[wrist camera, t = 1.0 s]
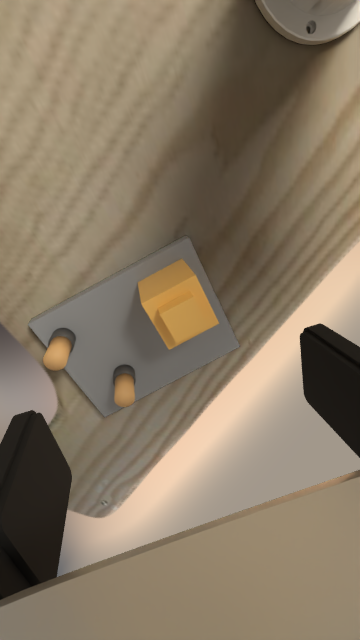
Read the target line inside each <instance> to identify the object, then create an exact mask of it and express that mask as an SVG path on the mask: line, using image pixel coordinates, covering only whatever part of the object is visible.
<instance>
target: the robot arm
mask: <svg viewBox="0 0 360 640" xmlns="http://www.w3.org/2000/svg"><path fill="white" fill-rule="evenodd" d="M255 2H256V4H257V6H258V8H259V9H260V11H261V13H262V14H263V16H264V18H265V19H266V20H267V22H268V23H269V24H270V25H271V26H272V27H273V28H274V29H275V30H276V31H277V32H278V33H280V34H281V35H283V36H284V37H285V38H287V39H289V40H292V41H294V42H297V43H299V44H308V45H316V44H323V43H327V42H329V41H332V40H334V39H337V38H339V37H340V36H342V35H343V34H345V33H346V32H348V31H350V30H351V29H352V28H354V27H355V26H356V25H357V24H358V23H359V22H360V0H255ZM306 29H307V30H306ZM307 31H308V33H307ZM300 345H301V346H300V347H301V360H302V375H303V389H304V395H305V398H306V400H307V402H308V403H309V404H310V405H311V406H312V407H313V408H314V409H315V411H317V413H318V414H319V415H320V416H321V417H322V418H323V419H324V420H325V421H326V422H327V423H328V424H329V425H330V427H331V428H333V430H334V431H335V432H336V433H337V434H338V435H339V436H340V437H341V438H342V439H343V440H344V441H345V443H346V444H347V445H348V446H349V447H350V448H351V449H352V450H353V451H354V452H355V453H356V454H357V455H358V456H359V458H360V347H359V346H357V345H355V344H354V343H352V342H351V341H349V340H347V339H346V338H344V337H342V336H341V335H339V334H338V333H336V332H334V331H333V330H331V329H329V328H328V327H326V326H324V325H323V324H317V325H314V326H310V327H307V328H305V329H304V331H303V333H301V334H300ZM71 480H72V475H71V470H70V467H69V466H68V464H67V462H66V460H65V458H64V456H63V454H62V452H61V450H60V448H59V446H58V444H57V442H56V440H55V438H54V437H53V435H52V433H51V431H50V429H49V427H48V425H47V423H46V421H45V419H44V417H43V415H42V414H41V413H36V412H35V411H33V410H31V411H28V412H25V413H21V414H18V415H15V416H14V417H13V418H12V420H11V423H10V425H9V427H8V429H7V431H6V433H5V435H4V438H3V440H2V442H1V444H0V640H360V470H358V471H355V472H352V473H349V474H346V475H343V476H340V477H337V478H335V479H332V480H329V481H326V482H323V483H320V484H317V485H314V486H311V487H308V488H306V489H303V490H300V491H297V492H294V493H291V494H288V495H285V496H282V497H280V498H277V499H274V500H271V501H268V502H265V503H263V504H260V505H257V506H254V507H251V508H248V509H245V510H242V511H240V512H237V513H234V514H232V515H228V516H225V517H223V518H220V519H217V520H214V521H211V522H209V523H206V524H203V525H200V526H197V527H194V528H192V529H189V530H186V531H183V532H180V533H177V534H175V535H172V536H169V537H166V538H163V539H161V540H158V541H155V542H152V543H150V544H147V545H144V546H141V547H138V548H136V549H133V550H130V551H127V552H124V553H122V554H119V555H116V556H113V557H111V558H108V559H105V560H102V561H99V562H97V563H94V564H91V565H88V566H86V567H83V568H80V569H78V570H75V571H72V572H70V573H67V574H64V575H62V576H59V577H57V570H58V564H59V558H60V551H61V545H62V538H63V532H64V526H65V519H66V512H67V506H68V500H69V493H70V487H71Z"/></svg>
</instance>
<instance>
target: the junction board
mask: <svg viewBox="0 0 360 640" xmlns="http://www.w3.org/2000/svg"><path fill="white" fill-rule="evenodd" d="M180 259H183V260H184V261H185V263H186V264H187V265H188V266H189V267H190V269H191V270H192V271H193V272H194V273H195V275H196V277H197V279H198V281H199V283H200V285H201V287H202V289H203V291H204V293H205V295H206V297H207V299H208V301H209V303H210V305H211V307H212V309H213V312H214V314H215V316H216V318H217V320H218V322H219V324H217V325H216V326H214V327H212V328H210V329H208V330H206V331H204V332H202V333H200V334H198V335H197V336H195V337H193V338H191V339H189V340H187V341H185V342H183V343H181V344H179V345H178V346H176V347H174V348H172V349H170V350H169V349H168V347H167V346H166V344H165V342H164V341H163V339H162V338H161V336H160V334H159V333H158V331H157V329H156V328H155V326H154V324H153V323H152V321H151V319H150V318H149V316H148V314H147V313H146V311H145V309H144V308H143V306H142V304H141V300H140V294H139V288H138V282H139V281H141V280H143V279H145V278H146V277H148V276H150V275H152V274H154V273H156V272H158V271H159V270H161V269H163V268H165V267H167V266H169V265H171V264H172V263H174V262H176V261H178V260H180ZM28 325H29V327H30V328H31V329H32V330H33V331H34V333H35V334H36V335H37V336H38V337H39V339H40V340H41V341H42V342H43V344H44V345H45V346H46V347H47V348H48V349H47V351H46V354H45V356H44V358H43V362H44V365H45V366H46V367H47V368H48V369H50V370H61V369H63V368H64V369H65V370H66V371H67V373H68V374H69V375H70V376H71V377H72V379H73V380H74V381H75V382H76V383H77V385H78V386H79V387H80V388H81V389H82V391H83V392H84V393H85V394H86V396H87V397H88V398H89V399H90V400H91V402H92V403H93V404H94V405H95V406H96V408H97V409H98V410H99V411H100V412H101V414H102V415H103V416H104V417H107V416H108V415H110V414H112V413H114V412H116V411H118V410H120V409H122V408H124V407H128V406H130V405H131V404H133V402H135V401H137V400H139V399H141V398H143V397H145V396H147V395H149V394H151V393H152V392H154V391H156V390H158V389H160V388H162V387H164V386H166V385H168V384H170V383H172V382H173V381H175V380H177V379H179V378H181V377H183V376H185V375H187V374H189V373H191V372H193V371H194V370H196V369H198V368H200V367H202V366H204V365H206V364H208V363H210V362H212V361H214V360H216V359H217V358H219V357H221V356H223V355H225V354H227V353H229V352H231V351H233V350H235V349H237V348H238V347H240V345H239V343H238V341H237V339H236V337H235V334H234V332H233V330H232V328H231V326H230V324H229V322H228V320H227V317H226V315H225V313H224V311H223V309H222V307H221V305H220V303H219V300H218V298H217V296H216V294H215V292H214V290H213V288H212V285H211V283H210V281H209V279H208V277H207V275H206V273H205V271H204V268H203V266H202V264H201V262H200V260H199V258H198V256H197V254H196V251H195V249H194V247H193V245H192V243H191V241H190V239H189V237H188V236H186V235H185V236H183V237H182V238H180V239H178V240H176V241H174V242H172V243H171V244H169V245H167V246H165V247H163V248H161V249H159V250H158V251H156V252H154V253H152V254H150V255H148V256H147V257H145V258H143V259H141V260H139V261H137V262H135V263H134V264H132V265H130V266H128V267H126V268H124V269H123V270H121V271H119V272H117V273H115V274H113V275H111V276H110V277H108V278H106V279H104V280H102V281H100V282H99V283H97V284H95V285H93V286H91V287H89V288H87V289H86V290H84V291H82V292H80V293H78V294H76V295H75V296H73V297H71V298H69V299H67V300H65V301H63V302H62V303H60V304H58V305H56V306H54V307H52V308H51V309H49V310H47V311H45V312H43V313H41V314H39V315H38V316H36V317H34V318H32V319H31V321H30V322H29V324H28Z"/></svg>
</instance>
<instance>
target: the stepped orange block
mask: <svg viewBox="0 0 360 640" xmlns="http://www.w3.org/2000/svg"><path fill="white" fill-rule="evenodd" d="M138 288H139V294H140V300H141V304H142V306H143V308H144V309H145V311H146V313H147V314H148V316H149V318H150V319H151V321H152V323H153V324H154V326H155V328H156V329H157V331H158V333H159V334H160V336H161V338H162V339H163V341H164V342H165V344H166V346H167V347H168V349H169V350H170V349H172V348H174V347H176V346H178V345H179V344H181V343H183V342H185V341H187V340H189V339H191V338H193V337H195V336H197V335H198V334H200V333H202V332H204V331H206V330H208V329H210V328H212V327H214V326H216V325H217V324H219V322H218V320H217V318H216V316H215V314H214V312H213V309H212V307H211V305H210V303H209V301H208V299H207V297H206V295H205V293H204V291H203V289H202V287H201V285H200V283H199V281H198V279H197V277H196V275H195V273H194V272H193V271H192V270H191V269H190V267H189V266H188V265H187V264H186V263H185V261H184V260H183V259H180V260H178V261H176V262H174V263H172V264H171V265H169V266H167V267H165V268H163V269H161V270H159V271H158V272H156V273H154V274H152V275H150V276H148V277H146V278H145V279H143V280H141V281H139V282H138Z"/></svg>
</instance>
